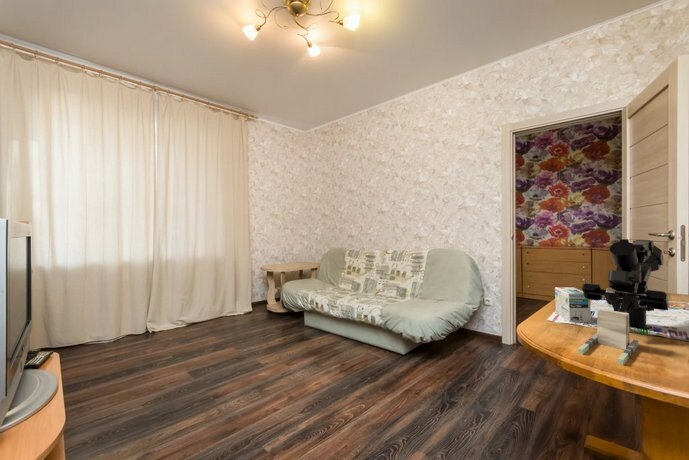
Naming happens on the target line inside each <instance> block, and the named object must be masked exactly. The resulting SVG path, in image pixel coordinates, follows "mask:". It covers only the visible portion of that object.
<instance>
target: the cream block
mask: <svg viewBox="0 0 689 460" xmlns="http://www.w3.org/2000/svg"><path fill="white" fill-rule="evenodd" d="M596 312H597V313H596V321H597V322H596V323H597V325H596V326H597V327H596V328H597V329H596V330H597V332H598V341H597V344H598V345H603V346H608V347H611V348H614V349H615V348H617V349H620V350H624V351H625V349H626V348H627V347H628V346H629V344H630V327H629V313H623V312H617V311H614V310H611V309H610V310H609V309H604V308H601V309H599V310H598V311H596Z"/></svg>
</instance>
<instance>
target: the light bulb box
mask: <svg viewBox="0 0 689 460" xmlns="http://www.w3.org/2000/svg"><path fill="white" fill-rule="evenodd" d="M554 298H555V300H554V301H555V315H557V316H560V317H561V318H563V319H564V320H566V321H567V322H569V323H591V322H592V317H591V315H592V311H591V300H589V299H586V298H585V296H584V293H583V291H582V289H581V290H580V289H578V288H576V287H574V286H573V287H566V286H565V287H561V286H558V287H557V286H555V287H554Z"/></svg>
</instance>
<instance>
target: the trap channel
mask: <svg viewBox="0 0 689 460" xmlns="http://www.w3.org/2000/svg"><path fill="white" fill-rule="evenodd" d="M596 343H598V331H597V332H595V333H594V334H593V335H592V336H591V337H589V339H588V340H586V341H585V342H584V343H583V344H581V345H580V346H579V347H578V348H577V354H578V355H582V356H583V355H584V354H585V353H587V351H589V350H590V349H591V348H592V347H593V346H594V345H595V344H596ZM638 347H639V340H638V339H632V340H631V342H629V346H628V347H627V348H626V349H625V350H624V351H623V352H622V353H621V354H620V355H619V356H618V358H617V365H619V366H624V365H625V364H626V363H627V361H628V360H629V359H630V357H631V356H632V355H633V353H634V352H635V351H636V349H637V348H638Z"/></svg>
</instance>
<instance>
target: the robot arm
mask: <svg viewBox="0 0 689 460" xmlns="http://www.w3.org/2000/svg"><path fill="white" fill-rule="evenodd" d="M654 244H655V243H654V241H653V240H649V239H636V240H633V241H632V242H630V240H629V239H627V238H626V239H625V238H622V239H620V238H619V241H617V242H615V243H612V244H611V245H610V246H609V253H610V256H611V259H612V262H613V264H614V265H615V269H614V270H613V269H611V270H608V277H607V278H608V279H607V282H608V287H609V288H608V287H606V288H605V289H604V288H603V289H602V288H601V285H600V284H598V283H592V282H585V283H583V284H582V287H581V291H583V293H584V296H585V298H586V299H589V300H590V301H591V300H592V301H597V302H598V301H601V300H602V298H603V297H605V300H606V303H607V304H608V305H611V306H612V308H613V311H617V312H623V313H629V328H631V329H632V328H634V329H637V330H648V329H653V327H652V325H649V324H647V312H650V311H651V312H652V311H653V312H654V311H655V310H660V311H668V310H669V304H670V303H669V302H670V301H669V296H668V293H667V292H666V291H663V290H661V291H660V290H656V289H655V290H653V289H649V287H648V285H647V284H648V282H649V279H650V276H651V274H652V272H657V271H659V270H660V268H661V266H663V265H664V256H663V250H662V249H660V248H659V247H657V246H656V245H654Z"/></svg>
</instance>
